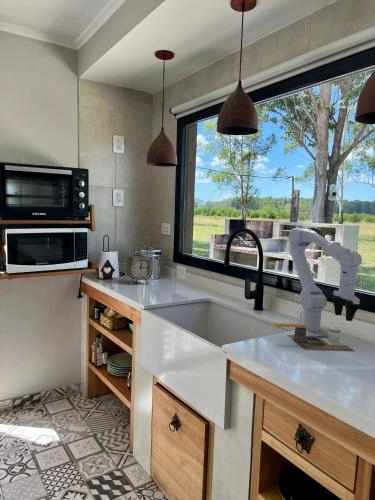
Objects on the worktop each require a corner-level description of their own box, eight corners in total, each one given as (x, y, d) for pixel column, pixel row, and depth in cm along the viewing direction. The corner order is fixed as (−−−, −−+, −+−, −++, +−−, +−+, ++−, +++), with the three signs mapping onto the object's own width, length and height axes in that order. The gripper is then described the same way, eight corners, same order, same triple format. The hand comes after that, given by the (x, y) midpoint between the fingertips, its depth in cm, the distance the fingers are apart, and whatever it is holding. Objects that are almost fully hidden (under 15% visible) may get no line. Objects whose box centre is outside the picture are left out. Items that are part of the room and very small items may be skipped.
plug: (325, 339, 140) (326, 326, 139) (335, 339, 140) (336, 326, 140) (331, 343, 136) (332, 330, 135) (341, 343, 136) (342, 330, 136)
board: (286, 337, 143) (288, 321, 142) (331, 338, 145) (333, 322, 145) (304, 352, 127) (306, 334, 126) (355, 354, 130) (357, 336, 129)
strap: (274, 324, 134) (274, 322, 134) (303, 326, 136) (304, 323, 136) (276, 326, 132) (276, 323, 132) (306, 327, 134) (306, 325, 134)
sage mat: (319, 338, 141) (319, 337, 141) (336, 339, 142) (336, 338, 142) (329, 345, 134) (329, 344, 134) (347, 345, 135) (347, 344, 135)
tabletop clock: (129, 285, 220) (131, 243, 217) (124, 282, 227) (126, 242, 225) (151, 284, 227) (154, 244, 224) (145, 282, 235) (148, 243, 232)
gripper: (328, 279, 147) (324, 312, 148) (348, 286, 133) (344, 323, 134) (344, 280, 148) (340, 313, 150) (366, 287, 134) (362, 323, 135)
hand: (343, 317), depth 142 cm, fingers open, 7 cm apart
